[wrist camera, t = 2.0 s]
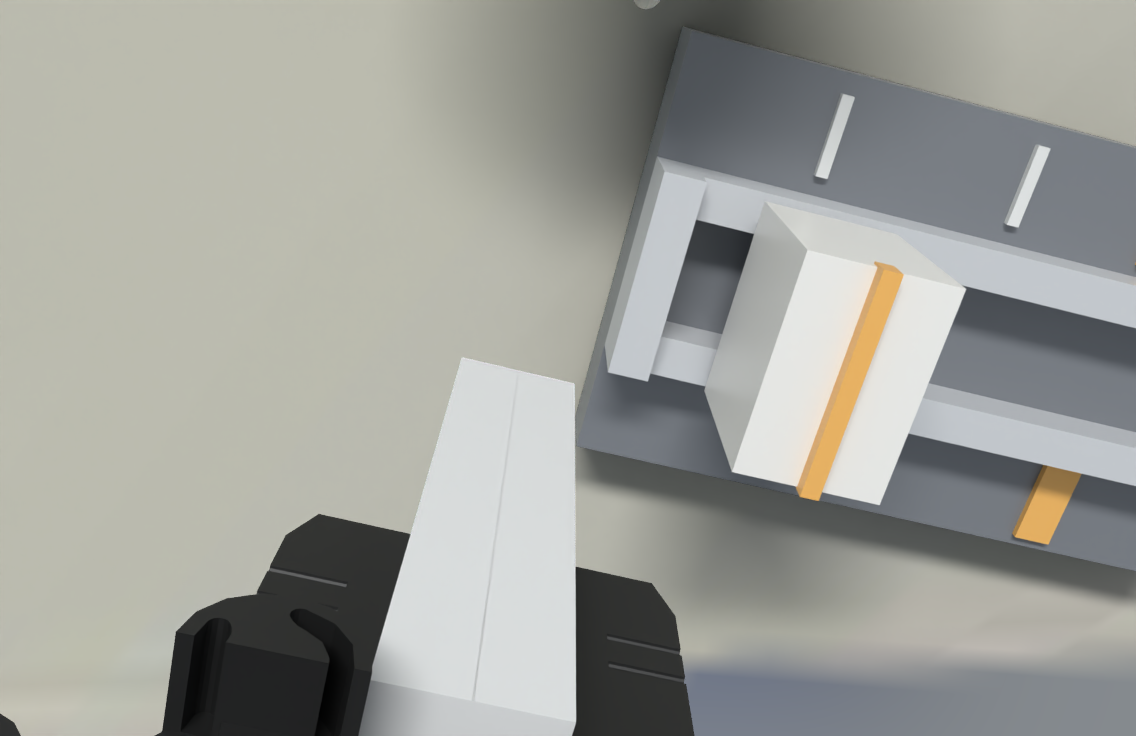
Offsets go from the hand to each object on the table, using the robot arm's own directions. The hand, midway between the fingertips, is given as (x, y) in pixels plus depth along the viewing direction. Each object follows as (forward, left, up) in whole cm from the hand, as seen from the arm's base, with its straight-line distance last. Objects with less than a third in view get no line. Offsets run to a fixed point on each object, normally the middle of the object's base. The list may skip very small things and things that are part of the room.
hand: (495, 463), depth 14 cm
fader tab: (+7, 0, -13) cm, 14 cm away
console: (+12, 0, -15) cm, 19 cm away
